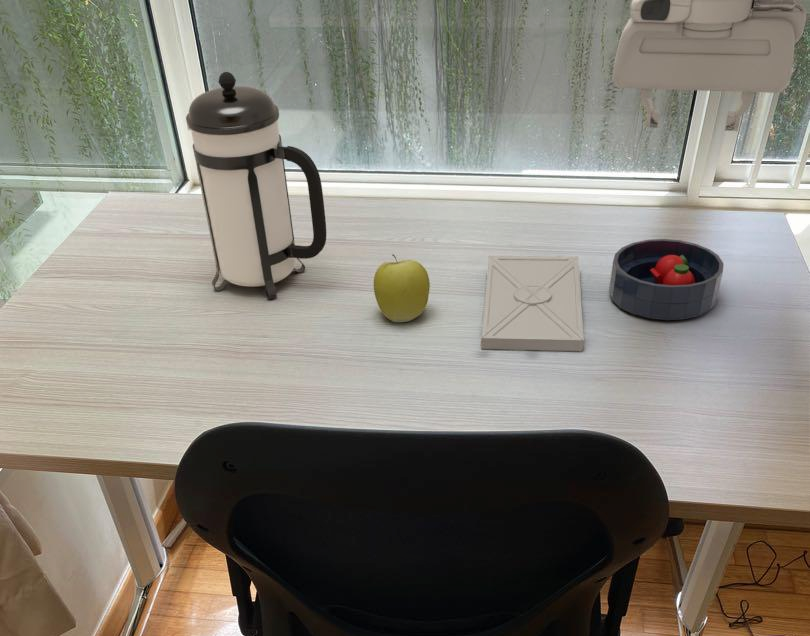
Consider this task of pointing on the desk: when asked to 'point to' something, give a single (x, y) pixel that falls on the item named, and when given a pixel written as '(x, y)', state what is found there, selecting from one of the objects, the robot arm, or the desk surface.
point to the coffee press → (250, 186)
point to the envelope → (533, 304)
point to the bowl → (660, 301)
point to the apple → (401, 289)
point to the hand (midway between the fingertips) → (691, 127)
